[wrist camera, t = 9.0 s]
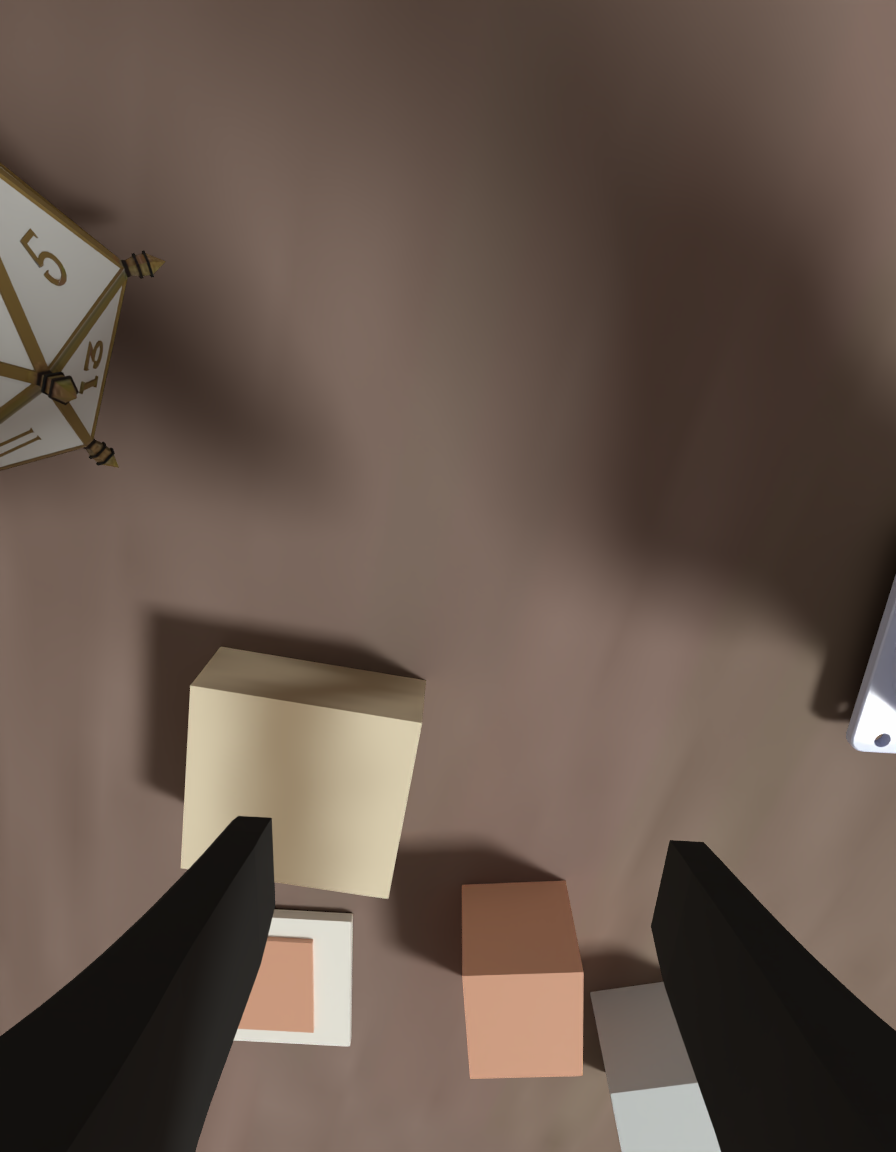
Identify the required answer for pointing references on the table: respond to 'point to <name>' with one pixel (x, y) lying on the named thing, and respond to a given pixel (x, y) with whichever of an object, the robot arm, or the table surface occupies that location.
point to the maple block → (303, 765)
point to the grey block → (650, 1073)
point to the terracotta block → (521, 981)
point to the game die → (54, 327)
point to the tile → (303, 981)
